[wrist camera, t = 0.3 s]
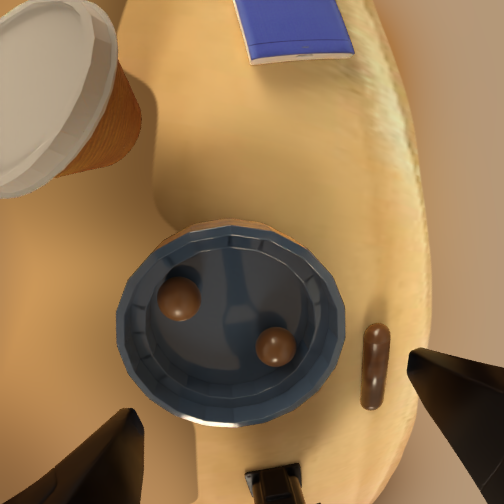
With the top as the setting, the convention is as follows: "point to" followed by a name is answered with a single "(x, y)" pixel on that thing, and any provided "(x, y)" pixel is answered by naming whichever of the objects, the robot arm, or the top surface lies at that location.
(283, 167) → the top surface
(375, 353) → the stick
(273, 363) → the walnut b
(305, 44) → the hard drive
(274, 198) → the top surface
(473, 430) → the robot arm
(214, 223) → the bowl
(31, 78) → the disposable coffee cup
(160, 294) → the glossy brown ball
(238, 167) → the top surface
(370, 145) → the top surface
